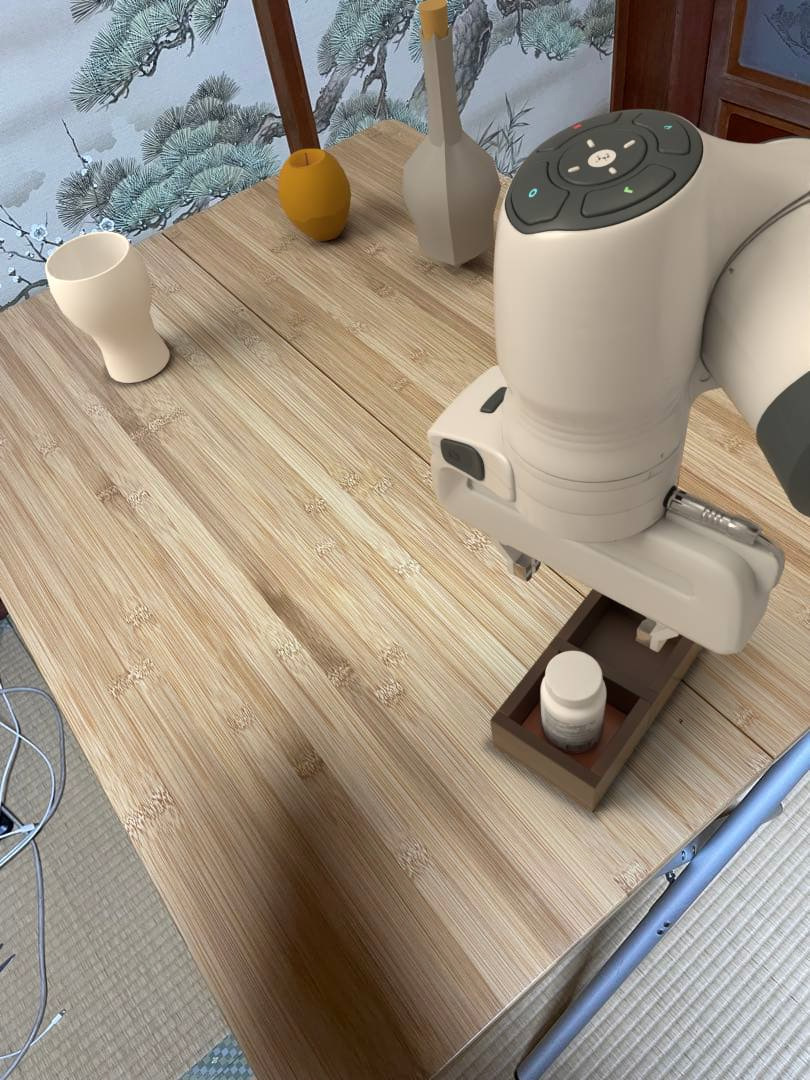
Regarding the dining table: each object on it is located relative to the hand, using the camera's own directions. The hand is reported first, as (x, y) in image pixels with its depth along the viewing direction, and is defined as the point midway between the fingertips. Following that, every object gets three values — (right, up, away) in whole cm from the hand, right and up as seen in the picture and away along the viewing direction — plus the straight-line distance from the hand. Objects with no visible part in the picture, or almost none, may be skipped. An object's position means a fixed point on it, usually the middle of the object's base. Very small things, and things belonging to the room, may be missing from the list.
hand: (586, 603), depth 53 cm
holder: (+4, -9, +14) cm, 17 cm away
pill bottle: (+1, -11, +12) cm, 16 cm away
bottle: (-5, +39, +53) cm, 66 cm away
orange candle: (-23, +46, +62) cm, 81 cm away
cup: (-44, +26, +50) cm, 71 cm away
